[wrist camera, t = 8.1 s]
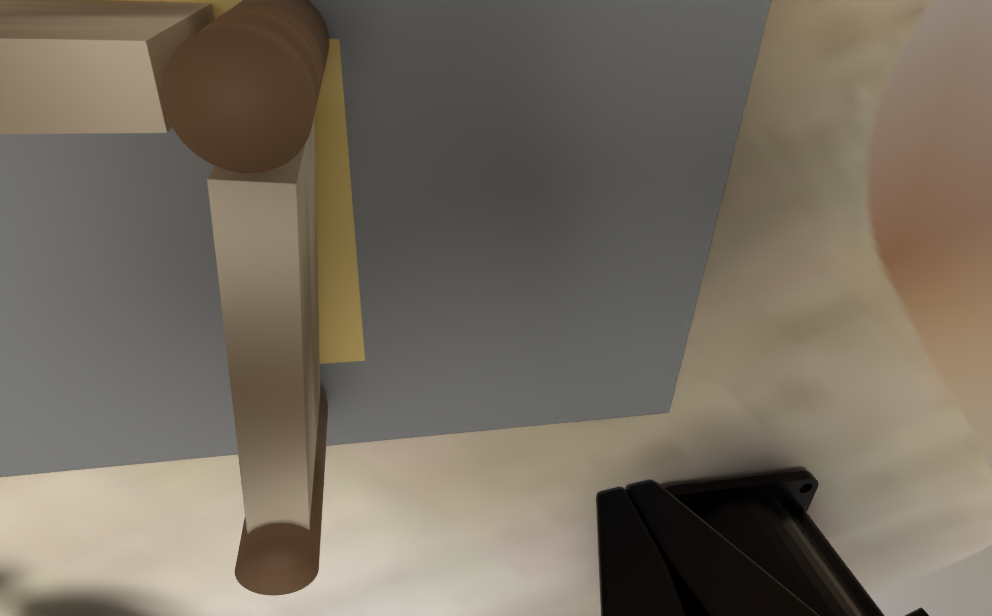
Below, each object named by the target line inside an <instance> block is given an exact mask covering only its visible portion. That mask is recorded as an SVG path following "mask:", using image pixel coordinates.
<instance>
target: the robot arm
mask: <svg viewBox="0 0 992 616" xmlns="http://www.w3.org/2000/svg"><path fill="white" fill-rule="evenodd" d="M817 487H818V481H817V480H816V479H815V477H814V476H813V475H812V474H811V473H810V472H809V471H798V472H789V473H781V474H773V475H764V476H756V477H748V478H739V479H731V480H723V481H714V482H706V483H698V484H689V485H681V486H673V487H665V488H663V487H662V486H661V485H660V484H658V483H657V482H655V481H653V480H644V481H640V482H636V483H632V484H629V485H627V486H626V487H625V489H624V488H623V487H616V488H612V489H607V490H603V491H600V492H598V493H597V495H596V508H597V532H598V555H599V579H600V603H601V616H884V614H883V613H882V612H881V610H880V609H879V608H878V607H877V605H876V604H875V603H874V601H873V600H872V599H871V597H870V596H869V594H868V593H867V592H866V590H865V589H864V588H863V587H862V585H861V584H860V583H859V581H858V580H857V579H856V577H855V576H854V575H853V573H852V572H851V571H850V569H849V568H848V567H847V565H846V564H845V563H844V561H843V560H842V559H841V557H840V556H839V555H838V554H837V552H836V551H835V550H834V548H833V547H832V546H831V544H830V543H829V542H828V540H827V539H826V538H825V536H824V535H823V534H822V532H821V531H820V530H819V528H818V527H817V526H816V524H815V523H814V522H813V521H812V519H811V518H810V517H809V515H808V514H807V513H806V512H807V510H808V508H809V505H810V503H811V501H812V499H813V496H814V494H815V492H816V490H817ZM905 616H929V615H928V614H927V613H926V612H925V611H924V610H923V609H922V608H919V609H917V610H915V611H913V612H911V613H909V614H907V615H905Z"/></svg>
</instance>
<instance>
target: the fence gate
mask: <svg viewBox="0 0 992 616" xmlns="http://www.w3.org/2000/svg"><path fill="white" fill-rule="evenodd" d="M207 183H208V192H209V200H210V209H211V218H212V227H213V236H214V244H215V253H216V262H217V271H218V280H219V288H220V297H221V306H222V315H223V324H224V333H225V341H226V350H227V359H228V368H229V377H230V385H231V394H232V403H233V412H234V421H235V429H236V438H237V447H238V456H239V465H240V474H241V482H242V491H243V500H244V509H245V519H244V525H243V530H242V535H241V541H240V546H239V551H238V557H237V562H236V567H235V576H236V578H237V580H238V582H239V583H240V584H241V585H242V586H243V587H245V588H246V589H248V590H250V591H252V592H255V593H258V594H263V595H284V594H289V593H293V592H296V591H298V590H301V589H303V588H304V587H306V586H308V585H309V584H310V583H311V582H312V581H313V580H314V579H315V577H316V576H317V574H318V570H319V554H320V537H321V520H322V503H323V487H324V470H325V453H326V437H327V420H328V403H327V400H326V398H325V397H324V395H323V394H322V393H321V392H320V357H319V311H318V265H317V219H316V173H315V127H314V120H313V124H312V128H311V132H310V135H309V137H308V140H307V141H306V143H305V145H304V147H303V148H302V149H301V150H300V152H299V153H298V154H297V155H296V156H295V157H294V158H293V159H292V160H290V161H289V162H287V163H286V164H284V165H282V166H280V167H278V168H276V169H273V170H270V171H266V172H261V173H238V172H232V171H229V170H225V169H222V168H219V167H217V166H215V167H214V168H213V170H212V172H211V173H210V175H209V177H208V179H207Z"/></svg>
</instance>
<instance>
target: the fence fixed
mask: <svg viewBox="0 0 992 616" xmlns="http://www.w3.org/2000/svg"><path fill="white" fill-rule="evenodd" d="M328 51H329V35H328V30H327V26H326V24H325V21H324V19H323V17H322V15H321V14H320V12H319V11H318V10H317V8H316V7H315V6H314V5H313V4H312V3H311V2H310V1H309V0H242V1H241V2H240V3H238V4H237V5H235V6H234V7H232V8H231V9H230V10H228V11H227V12H225V13H224V14H222V15H221V16H220V17H218V18H217V19H215V18H214V13H213V7H212V3H191V2H154V1H118V0H0V134H81V133H167V132H168V131H169V130H170V129H171V128H173V129H174V131H175V133H176V134H177V135H178V137H179V138H180V139H181V141H182V142H183V143H184V144H185V145H186V146H187V147H188V148H189V149H190V150H191V151H193V152H194V153H195V154H196V155H197V156H199V157H200V158H202V159H203V160H205V161H207V162H209V163H210V164H212V165H214V166H217V167H219V168H222V169H225V170H229V171H232V172H238V173H261V172H266V171H270V170H273V169H276V168H278V167H280V166H282V165H284V164H286V163H287V162H289V161H290V160H292V159H293V158H294V157H295V156H296V155H297V154H298V153H299V152H300V150H301V149H302V148H303V147H304V145H305V143H306V141H307V140H308V137H309V135H310V132H311V128H312V124H313V120H314V115H315V111H316V106H317V102H318V97H319V93H320V88H321V83H322V79H323V74H324V70H325V65H326V61H327V56H328Z"/></svg>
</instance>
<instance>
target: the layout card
mask: <svg viewBox="0 0 992 616" xmlns="http://www.w3.org/2000/svg"><path fill="white" fill-rule="evenodd" d="M118 1H154V2H191V3H212V7H213V13H214V18H215V19H217V18H218V17H220V16H221V15H222V14H224V13H225V12H227V11H228V10H230V9H231V8H232V7H234V6H235V5H237V4H238V3H240V2H241V1H242V0H118ZM309 1H310V2H311V3H312V4H313V5H314V6H315V7H316V8H317V10H318V11H319V12H320V14H321V15H322V17H323V19H324V21H325V24H326V26H327V30H328V35H329V51H328V56H327V61H326V65H325V70H324V74H323V79H322V83H321V88H320V93H319V97H318V102H317V106H316V111H315V115H314V127H315V173H316V219H317V265H318V311H319V357H320V392H321V393H322V394H323V395H324V397H325V398H326V400H327V403H328V420H327V437H326V446H329V445H339V444H350V443H360V442H371V441H381V440H391V439H402V438H412V437H422V436H433V435H443V434H453V433H464V432H474V431H485V430H495V429H505V428H516V427H526V426H536V425H547V424H557V423H567V422H578V421H588V420H599V419H609V418H619V417H630V416H640V415H650V414H661V413H669V411H670V407H671V403H672V399H673V395H674V391H675V386H676V382H677V378H678V374H679V370H680V366H681V362H682V358H683V354H684V350H685V346H686V342H687V338H688V334H689V330H690V326H691V322H692V318H693V314H694V310H695V306H696V302H697V298H698V294H699V290H700V286H701V281H702V277H703V273H704V269H705V265H706V261H707V257H708V253H709V249H710V245H711V241H712V237H713V233H714V229H715V225H716V221H717V217H718V213H719V209H720V205H721V201H722V197H723V193H724V189H725V185H726V180H727V176H728V172H729V168H730V164H731V160H732V156H733V152H734V148H735V144H736V140H737V136H738V132H739V128H740V124H741V120H742V116H743V112H744V108H745V104H746V100H747V96H748V92H749V88H750V84H751V80H752V75H753V71H754V67H755V63H756V59H757V55H758V51H759V47H760V43H761V39H762V35H763V31H764V27H765V23H766V19H767V15H768V11H769V7H770V3H771V0H309ZM214 167H215V166H214V165H212V164H210V163H209V162H207V161H205V160H203V159H202V158H200V157H199V156H197V155H196V154H195V153H194V152H193V151H191V150H190V149H189V148H188V147H187V146H186V145H185V144H184V143H183V142H182V141H181V139H180V138H179V137H178V135H177V134H176V133H175V131H174V129H173V128H171V129H170V130H169V131H168V132H167V133H81V134H0V477H8V476H18V475H29V474H39V473H49V472H60V471H70V470H80V469H91V468H101V467H112V466H122V465H132V464H143V463H153V462H163V461H174V460H184V459H194V458H205V457H215V456H226V455H236V454H238V447H237V438H236V429H235V421H234V412H233V403H232V394H231V385H230V377H229V368H228V359H227V350H226V341H225V333H224V324H223V315H222V306H221V297H220V288H219V280H218V271H217V262H216V253H215V244H214V236H213V227H212V218H211V209H210V200H209V192H208V183H207V179H208V177H209V175H210V173H211V172H212V170H213V168H214Z"/></svg>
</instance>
